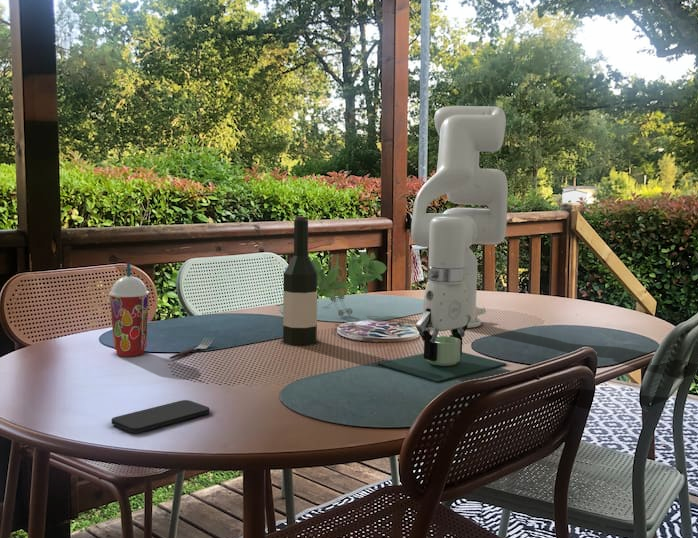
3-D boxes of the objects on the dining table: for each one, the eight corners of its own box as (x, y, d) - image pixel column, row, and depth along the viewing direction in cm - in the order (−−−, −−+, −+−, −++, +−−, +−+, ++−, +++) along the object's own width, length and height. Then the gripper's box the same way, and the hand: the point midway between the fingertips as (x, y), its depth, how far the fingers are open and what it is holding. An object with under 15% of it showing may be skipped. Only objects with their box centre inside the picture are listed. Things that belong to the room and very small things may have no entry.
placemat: (447, 350, 175) (447, 348, 175) (506, 365, 163) (506, 363, 163) (378, 364, 161) (378, 363, 161) (437, 382, 148) (437, 380, 148)
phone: (212, 408, 127) (134, 429, 115) (212, 413, 127) (134, 434, 116) (186, 399, 131) (108, 418, 120) (186, 403, 132) (108, 423, 120)
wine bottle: (323, 340, 183) (325, 216, 179) (306, 347, 175) (308, 218, 171) (293, 336, 186) (294, 215, 182) (276, 342, 179) (276, 216, 175)
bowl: (441, 356, 166) (442, 334, 166) (466, 363, 161) (467, 340, 161) (418, 361, 162) (419, 338, 161) (444, 368, 156) (444, 344, 156)
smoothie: (157, 351, 168) (156, 262, 166) (135, 359, 161) (133, 267, 158) (126, 347, 171) (124, 260, 169) (102, 356, 163) (99, 264, 161)
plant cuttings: (280, 347, 203) (333, 306, 191) (252, 293, 207) (302, 250, 195) (357, 327, 231) (407, 290, 219) (331, 280, 235) (378, 241, 223)
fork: (164, 359, 161) (164, 350, 161) (205, 344, 176) (205, 336, 176) (174, 361, 160) (174, 352, 160) (215, 345, 175) (215, 337, 175)
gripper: (430, 280, 150) (427, 367, 153) (485, 274, 162) (482, 354, 164) (404, 276, 156) (401, 359, 158) (459, 270, 167) (456, 348, 170)
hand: (442, 356), depth 161 cm, fingers closed on bowl, 7 cm apart
